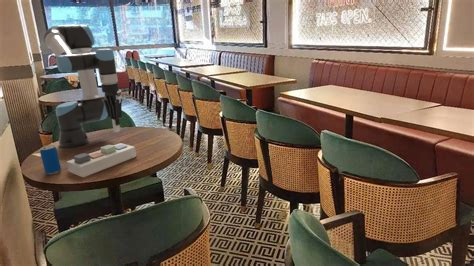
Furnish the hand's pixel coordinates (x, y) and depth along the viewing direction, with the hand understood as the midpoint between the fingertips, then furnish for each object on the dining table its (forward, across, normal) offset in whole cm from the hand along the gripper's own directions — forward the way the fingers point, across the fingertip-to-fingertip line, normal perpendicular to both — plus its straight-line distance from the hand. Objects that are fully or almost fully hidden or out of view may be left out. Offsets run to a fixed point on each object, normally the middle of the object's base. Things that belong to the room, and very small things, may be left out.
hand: (117, 131), depth 161 cm
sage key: (+9, +1, -7) cm, 11 cm away
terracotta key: (+11, +1, -13) cm, 17 cm away
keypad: (+13, +1, -10) cm, 17 cm away
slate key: (+11, +1, 0) cm, 11 cm away
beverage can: (+14, -11, -28) cm, 33 cm away
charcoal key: (+9, +1, -20) cm, 22 cm away
